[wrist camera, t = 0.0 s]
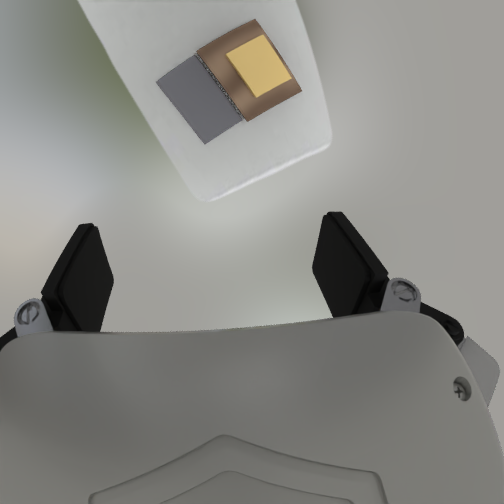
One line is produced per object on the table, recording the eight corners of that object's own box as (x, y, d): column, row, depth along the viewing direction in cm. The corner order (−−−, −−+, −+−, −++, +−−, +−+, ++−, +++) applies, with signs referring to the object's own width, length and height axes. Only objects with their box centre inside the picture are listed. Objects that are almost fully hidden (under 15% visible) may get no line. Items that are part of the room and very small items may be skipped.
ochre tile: (225, 55, 31) (226, 53, 29) (260, 36, 30) (263, 34, 28) (253, 96, 36) (256, 97, 34) (287, 78, 35) (291, 78, 33)
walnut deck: (197, 53, 33) (196, 51, 30) (251, 23, 31) (255, 18, 28) (244, 117, 41) (247, 121, 38) (294, 89, 39) (302, 91, 36)
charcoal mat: (156, 82, 35) (155, 82, 35) (194, 55, 33) (194, 54, 33) (204, 143, 43) (204, 144, 43) (241, 119, 42) (242, 120, 41)
